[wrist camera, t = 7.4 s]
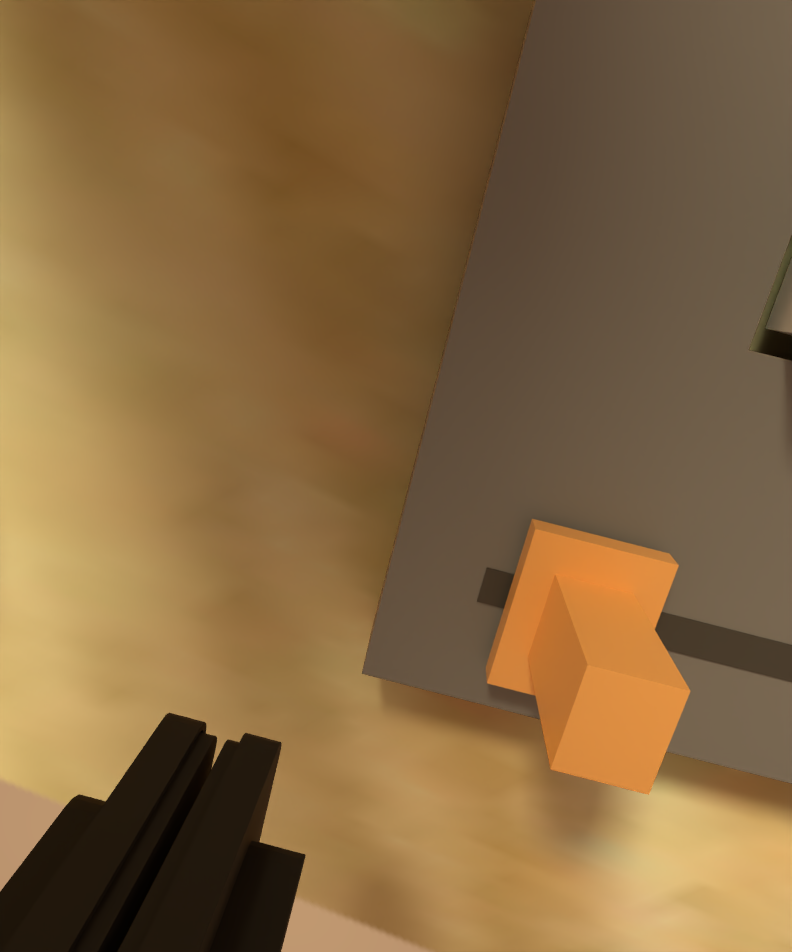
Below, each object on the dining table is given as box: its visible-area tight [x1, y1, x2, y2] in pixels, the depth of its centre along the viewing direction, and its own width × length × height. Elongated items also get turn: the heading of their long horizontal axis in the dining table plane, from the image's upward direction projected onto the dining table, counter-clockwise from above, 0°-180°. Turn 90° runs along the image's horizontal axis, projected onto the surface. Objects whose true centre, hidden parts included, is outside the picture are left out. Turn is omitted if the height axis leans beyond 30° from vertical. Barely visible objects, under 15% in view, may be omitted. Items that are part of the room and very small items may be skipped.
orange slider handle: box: [486, 519, 690, 795], centre depth 16 cm, size 4×4×5 cm
